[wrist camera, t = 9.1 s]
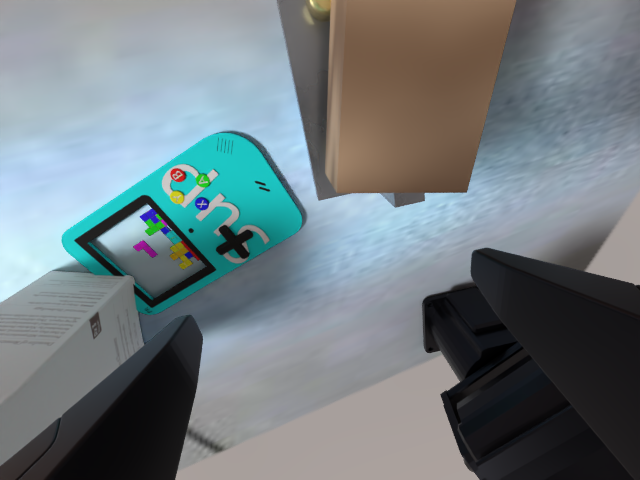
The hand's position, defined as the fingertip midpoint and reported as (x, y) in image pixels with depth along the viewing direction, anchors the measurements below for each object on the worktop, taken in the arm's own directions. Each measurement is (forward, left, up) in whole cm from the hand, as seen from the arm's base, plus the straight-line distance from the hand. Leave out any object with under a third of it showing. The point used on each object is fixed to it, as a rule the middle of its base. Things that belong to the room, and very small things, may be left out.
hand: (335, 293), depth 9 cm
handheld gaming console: (-1, +9, -13) cm, 16 cm away
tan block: (+6, -5, -8) cm, 12 cm away
